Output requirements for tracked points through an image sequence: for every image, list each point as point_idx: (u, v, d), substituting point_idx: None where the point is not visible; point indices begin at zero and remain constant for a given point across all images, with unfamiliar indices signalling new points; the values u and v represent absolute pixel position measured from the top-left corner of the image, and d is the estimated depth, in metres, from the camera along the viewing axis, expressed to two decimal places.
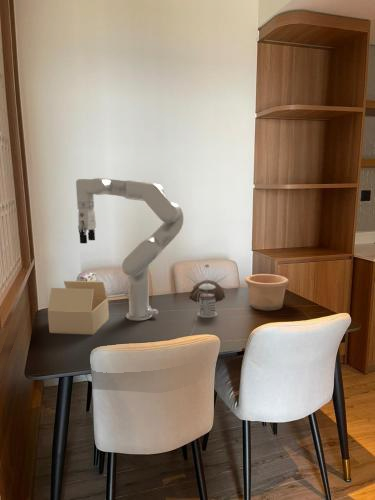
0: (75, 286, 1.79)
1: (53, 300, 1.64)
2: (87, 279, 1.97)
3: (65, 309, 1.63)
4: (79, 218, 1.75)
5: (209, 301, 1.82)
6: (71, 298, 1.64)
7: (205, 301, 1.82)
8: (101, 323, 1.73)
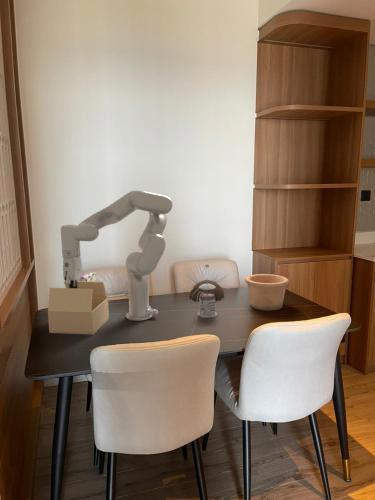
0: None
1: (53, 300, 1.64)
2: (87, 279, 1.97)
3: (64, 310, 1.62)
4: (64, 268, 1.60)
5: (209, 301, 1.82)
6: (70, 298, 1.63)
7: (205, 301, 1.82)
8: (101, 323, 1.73)
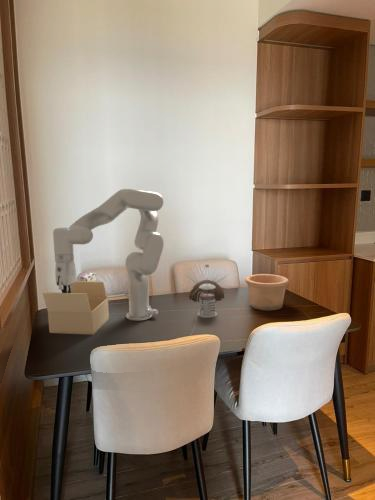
0: (75, 286, 1.79)
1: (50, 303, 1.61)
2: (87, 279, 1.97)
3: (64, 311, 1.62)
4: (56, 273, 1.54)
5: (209, 301, 1.82)
6: (67, 302, 1.59)
7: (205, 301, 1.82)
8: (101, 323, 1.73)
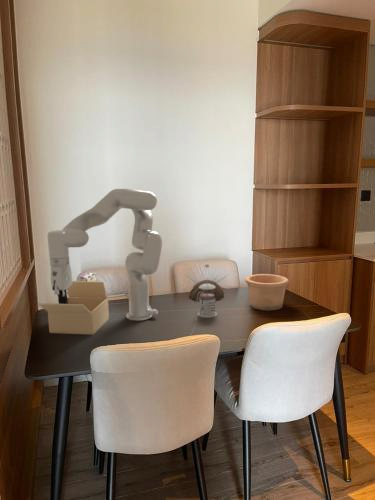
0: (75, 286, 1.79)
1: (48, 308, 1.60)
2: (87, 279, 1.97)
3: None
4: (52, 277, 1.50)
5: (209, 301, 1.82)
6: (64, 308, 1.57)
7: (205, 301, 1.82)
8: (101, 323, 1.73)
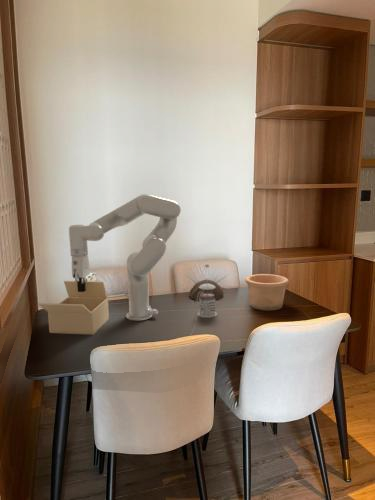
0: (75, 286, 1.79)
1: (48, 308, 1.60)
2: (87, 279, 1.97)
3: None
4: (72, 266, 1.68)
5: (209, 301, 1.82)
6: (64, 308, 1.57)
7: (205, 301, 1.82)
8: (101, 323, 1.73)
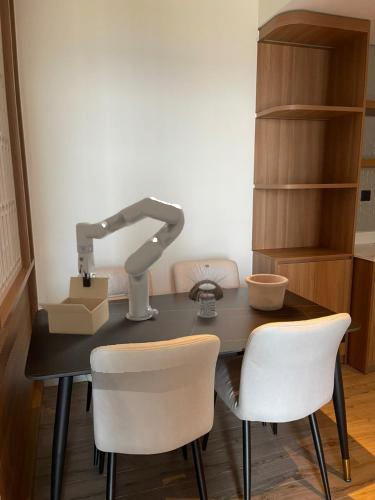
0: (79, 283, 1.84)
1: (48, 308, 1.60)
2: None
3: None
4: (79, 262, 1.75)
5: (209, 301, 1.82)
6: (64, 308, 1.57)
7: (205, 301, 1.82)
8: (101, 323, 1.73)
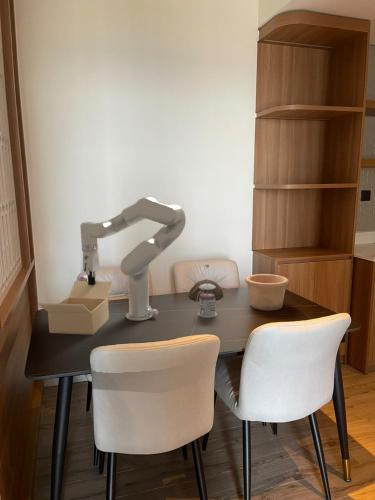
0: (82, 285, 1.87)
1: (48, 308, 1.60)
2: (87, 279, 1.97)
3: None
4: (83, 260, 1.80)
5: (209, 301, 1.82)
6: (64, 308, 1.57)
7: (205, 301, 1.82)
8: (101, 323, 1.73)
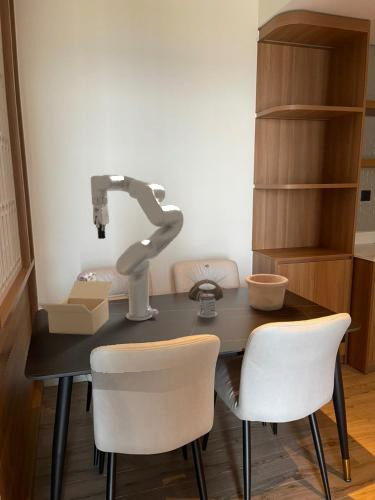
0: (82, 285, 1.87)
1: (48, 308, 1.60)
2: (87, 279, 1.97)
3: None
4: (94, 213, 1.82)
5: (209, 301, 1.82)
6: (64, 308, 1.57)
7: (205, 301, 1.82)
8: (101, 323, 1.73)
